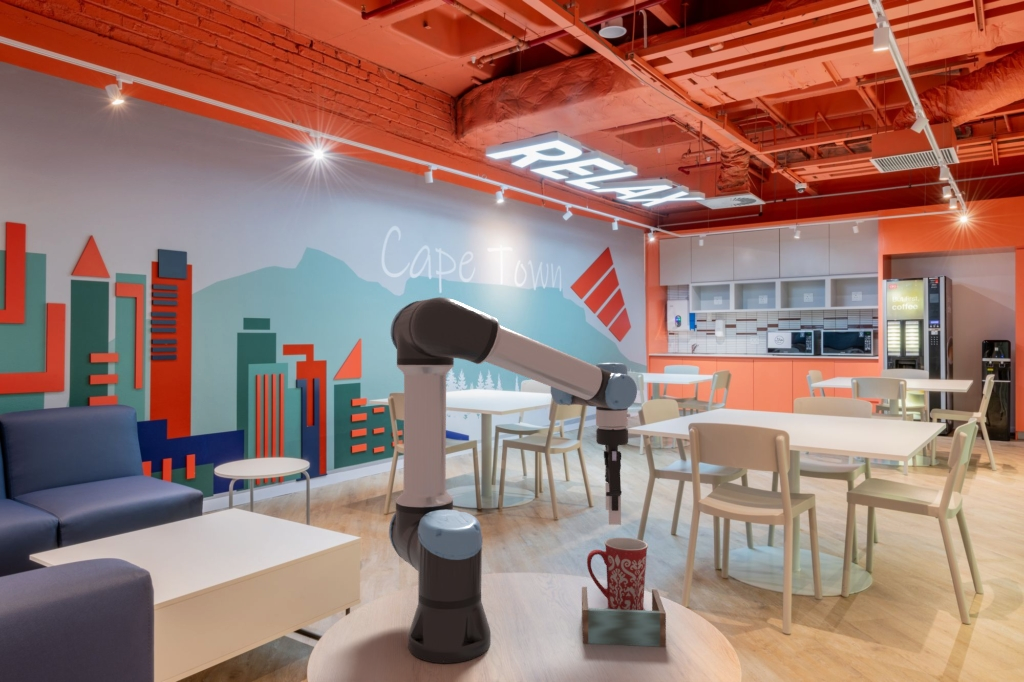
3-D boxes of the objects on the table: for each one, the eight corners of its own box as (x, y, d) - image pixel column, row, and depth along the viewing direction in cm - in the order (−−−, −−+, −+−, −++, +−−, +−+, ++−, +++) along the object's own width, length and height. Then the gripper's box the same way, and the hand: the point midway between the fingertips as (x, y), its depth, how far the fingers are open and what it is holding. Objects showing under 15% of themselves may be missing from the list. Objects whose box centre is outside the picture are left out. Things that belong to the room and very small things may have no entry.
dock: (582, 643, 118) (582, 610, 118) (581, 616, 130) (581, 586, 130) (665, 646, 117) (665, 613, 117) (657, 619, 129) (657, 589, 129)
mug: (645, 600, 139) (645, 537, 139) (650, 617, 130) (650, 550, 130) (586, 598, 140) (586, 535, 140) (587, 614, 131) (587, 548, 131)
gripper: (632, 434, 141) (633, 531, 140) (623, 421, 166) (624, 504, 165) (598, 433, 141) (599, 530, 141) (594, 421, 166) (595, 504, 166)
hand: (612, 516), depth 153 cm, fingers open, 13 cm apart
